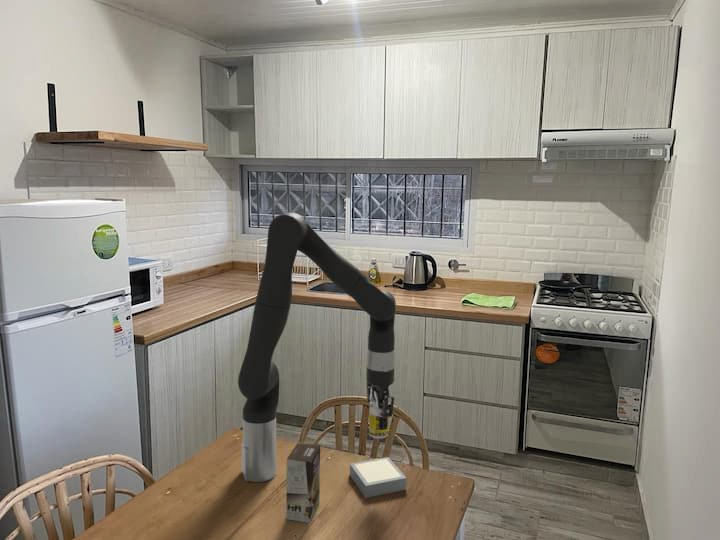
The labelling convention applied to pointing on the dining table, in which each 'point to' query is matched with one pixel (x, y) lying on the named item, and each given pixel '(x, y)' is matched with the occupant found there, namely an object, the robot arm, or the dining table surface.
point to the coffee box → (303, 482)
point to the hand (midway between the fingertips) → (378, 424)
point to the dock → (377, 477)
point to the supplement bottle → (376, 422)
